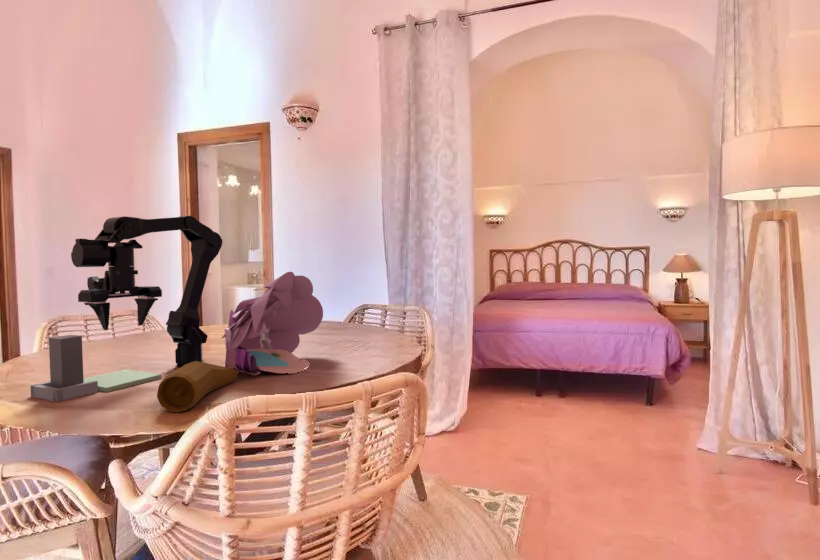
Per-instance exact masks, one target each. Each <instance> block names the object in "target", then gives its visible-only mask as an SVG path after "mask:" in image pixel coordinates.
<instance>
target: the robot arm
mask: <svg viewBox="0 0 820 560" xmlns="http://www.w3.org/2000/svg"><path fill="white" fill-rule="evenodd" d="M169 231H181V233H182V234H183V236H184V237H185V239H186V240H187V241H188V242H190V243H191V244H190V252H191V256H192V263H191V264H190V269H189V273H188V276H187V280H186V283H185V286H184V289H183V294H182V297H181V301H180V305H179V306H178V308H177V309H176V310H170V311H169V313H168V319H167V321H166V323H165V325H166V326H167V327H166V332H167V333H168V336H170V337H171V339H172V341H173V343H174V344H176V343H177V344H176V346H177V347H176V349H175V350H174V353H175V354H174V356H175V357H174V358H175V365H176V367H179V368H181V367H182V366H184V365H185V364H188V363H191V362H194V361H199V362H204V358H203V344H206V343H207V339H208V334H206V333H205V332H204V330H202V329H201V327H200V323H201V319H200V314H199V307H200V302H201V299H202V296H203V292H204V289H205V284H206V281H207V278H208V273H209V271H210V268H211V267H210V266H211V264H212V262H213V260H215V258H216V257H217V256H218V255H219V253H220V251H221V249H222V246H223V239H222V237H221V235H220V234H219V233H218V232H217V231H214V230H213V229H212V228H211V227H209V226H207V225H206V224H203V223H202V222H200V221H199V220H198V219H197V218H196V217H194V216H192V215H181V216H176V217H175V216H174V217H173V216H172V217H163V218H161V217H160V218H159V217H158V218H141V217H135V216H116V217H114V216H113V217H110V218H107V219H105V221H104V222H103V226H102V229H101V231H99V233H98V234H97V236H96V237H95V239H88V238H75V241H74V242H75V243H74V244H73V247H72V251H71V254H70V258H71V261H72V264H73V266H74V267H76V268H102V267H105V266H106V265H108V266H107V267H108V268H107V269H108V270H105V271H104V277H101V278H99V276H97V275H95V276H88V277H87V280H86V281H87V289H81V290H80V291H79V293H78V294H77V302H78V303H84V305H85V306H88V307H90V308H91V309H92V310H93V311H94V313H95V315H96V317H97V319H98V321H99V322H100V324H101V325H100V326H101V327H102V330H103V331H108V329H109V325H110V310H111V302H107V301H108V299H117V298H131V297H132V298H133V297H136V298H133V300H134V301H135V303H136V306H137V307H136V308H137V310H136V311H137V323H138V324H137V325H138V326H143V325H144V323H145V321H146V319H147V316H148V314H149V312H150V310H151V308H152V307H153V305H154V304H155V302H156V301H158V300H159V298H162V297H163V290H162V289H161V287H160V286H158V285H157V286H156V285H147V286H146V285H145V286H138V285H136V279H135V278H136V275H138V274H139V270H137V269H135V250H136V249H143V245H142V244H140V243H139V242H138V241H137V240H136V239H135V238H138V237H142V236H144V235H146V234H150V233H159V232H160V233H163V232H169ZM124 240H128V241H126V242H125V241H124ZM109 244H114V245H109Z"/></svg>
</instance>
